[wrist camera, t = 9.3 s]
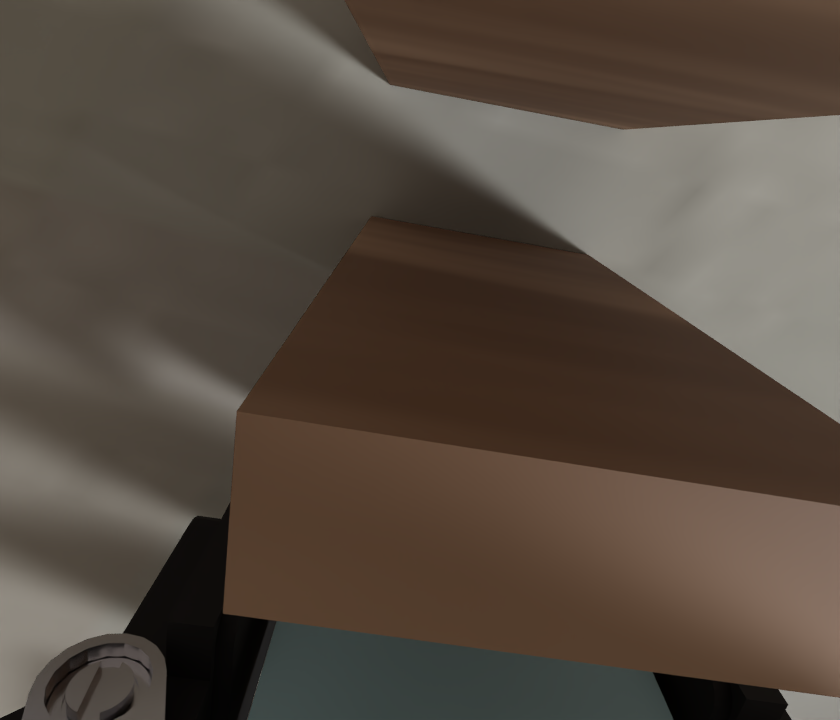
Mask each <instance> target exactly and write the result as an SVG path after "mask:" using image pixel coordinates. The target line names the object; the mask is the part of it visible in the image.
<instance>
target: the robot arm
mask: <svg viewBox="0 0 840 720" xmlns="http://www.w3.org/2000/svg"><path fill="white" fill-rule="evenodd" d="M230 503H231V502H230ZM229 517H230V504H229V506H228V508H227V509H226V511H225V513H224V515H223V517H222V519H217V518H210V517H203V516H197V517H195V518H194V519H193V520H192V521H191V523H190V524H189V526H188V527H187V529H186V531H185V532H184V534H183V536H182V537H181V539H180V541H179V542H178V544H177V546H176V547H175V549H174V550H173V552H172V554H171V555H170V557H169V559H168V560H167V562H166V564H165V565H164V567H163V568H162V570H161V572H160V573H159V575H158V577H157V578H156V580H155V582H154V583H153V585H152V587H151V588H150V590H149V591H148V593H147V595H146V596H145V598H144V600H143V601H142V603H141V605H140V606H139V608H138V609H137V611H136V613H135V614H134V616H133V618H132V619H131V621H130V623H129V624H128V626H127V628H126V629H125V631H124V632H123V634H105V635H101V636H97V637H93V638H89V639H86V640H84V641H82V642H80V643H78V644H75V645H73V646H71V647H69V648H67V649H66V650H65V651H63V652H62V653H60V654H59V655H58V656H56V657H55V658H54V659H52V660H51V661H50V662H49V663H48V664H47V665H46V666H45V668H44V669H43V670H42V671H41V672H40V673H39V675H38V676H37V677H36V679H35V681H34V684H33V686H32V688H31V690H30V692H29V695H28V698H27V702H26V706H25V707H23V708H21V709H19V710H17V711H15V712H13V713H10V714H8V715H6V716H4V717H2V718H0V720H247V717H248V713H249V710H250V707H251V704H252V700H253V697H254V694H255V690H256V687H257V684H258V681H259V677H260V674H261V671H262V667H263V664H264V661H265V657H266V654H267V651H268V648H269V644H270V641H271V638H272V634H273V631H274V628H275V625H276V621H274V620H266V619H259V618H252V617H244V616H237V615H229V614H223V603H224V589H225V575H226V560H227V546H228V531H229ZM653 674H654V677H655V679H656V681H657V683H658V686H659V688H660V690H661V692H662V695H663V697H664V699H665V702H666V704H667V706H668V708H669V711H670V713H671V715H672V717H673V720H791V718H790V717H789V715H788V713H787V712H786V710H785V709H786V708H787V706H788V704H787V702H786V701H785V699H784V697H783V696H782V694H781V693H780V691H779V690H778V689H773V688H766V687H759V686H751V685H744V684H736V683H729V682H722V681H714V680H707V679H700V678H692V677H685V676H678V675H670V674H663V673H656V672H653Z"/></svg>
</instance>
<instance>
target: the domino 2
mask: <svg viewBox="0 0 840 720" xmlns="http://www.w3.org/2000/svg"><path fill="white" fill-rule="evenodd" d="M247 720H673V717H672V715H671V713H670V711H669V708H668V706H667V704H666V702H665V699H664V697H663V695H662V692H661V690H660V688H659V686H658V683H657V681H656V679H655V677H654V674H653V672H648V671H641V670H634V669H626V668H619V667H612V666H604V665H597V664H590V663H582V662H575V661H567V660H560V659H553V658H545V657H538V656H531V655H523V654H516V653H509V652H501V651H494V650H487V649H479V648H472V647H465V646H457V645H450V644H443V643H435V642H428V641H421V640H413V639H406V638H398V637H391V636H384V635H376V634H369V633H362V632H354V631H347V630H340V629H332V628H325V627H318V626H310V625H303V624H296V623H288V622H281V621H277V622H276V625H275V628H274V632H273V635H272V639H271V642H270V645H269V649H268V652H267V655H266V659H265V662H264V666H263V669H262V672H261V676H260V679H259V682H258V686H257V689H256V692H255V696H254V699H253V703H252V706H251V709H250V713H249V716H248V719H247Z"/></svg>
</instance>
